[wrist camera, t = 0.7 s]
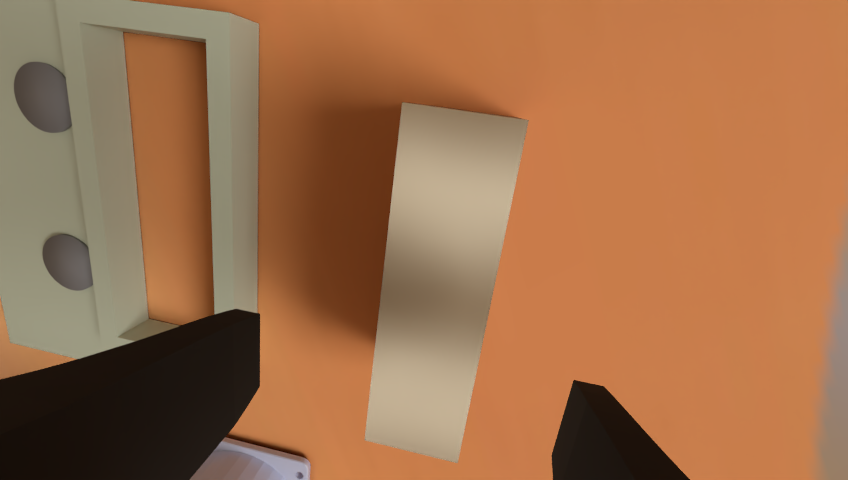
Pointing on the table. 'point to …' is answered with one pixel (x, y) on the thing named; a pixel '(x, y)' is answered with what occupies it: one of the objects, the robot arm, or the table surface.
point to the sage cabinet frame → (109, 169)
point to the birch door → (439, 272)
